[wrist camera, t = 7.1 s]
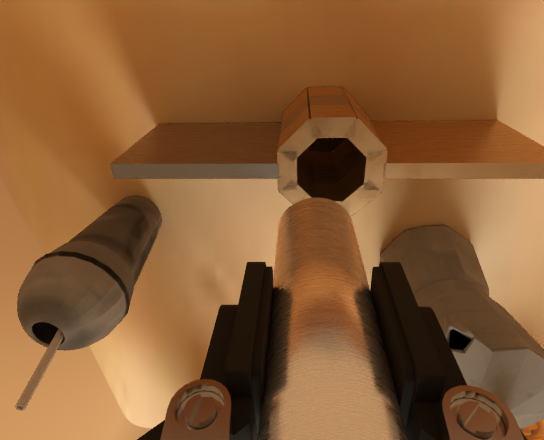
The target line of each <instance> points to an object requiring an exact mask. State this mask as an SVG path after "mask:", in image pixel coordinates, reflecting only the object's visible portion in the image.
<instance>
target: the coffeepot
mask: <svg viewBox="0 0 544 440" xmlns="http://www.w3.org/2000/svg"><path fill="white" fill-rule="evenodd" d="M380 258H381V262H400V263H401V265H402V267H403V270H404V272H405V275H406V277H407V280H408V282H409V285H410V287H411V289H412V292H413V294H414V297H415V299H416V302H417V304H418V306H420V307H431V308H432V309H433V311H434V312H435V315H436V317H437V319H438V321H439V324H440V326H441V328H442V330H443V332H444V335H445V337H446V339H447V341H448V344H449V346H450V348H451V350H452V352H453V355H454V357H455V359H456V361H457V363H458V366H459V368H460V370H461V372H462V375H463V377H464V379H465V381H466V383H467V385H469V386H474V387H478V388H481V389H483V390H486V391H488V392H490V393H492V394H493V395H495V396H496V397H498V398H499V399H500V400H501V401H502V402H503V403H504V404H505V405H506V406H507V407H508V408H509V409H510V411H511V412H512V414H513V416H514V417H515V419H516V421H517V424H518V426H519V428H520V431H521V433H522V436H523V437H525V435H524V434H523V432H522V430H523V429H525V428H527V427H529V426H531V425H533V424H535V423H536V422H538V421H540V420H542V419H544V349H543V348H542V347H541V346H540V345H539V344H538V343H537V342H536V341H535V340H534V339H533V338H532V337H531V336H530V335H529V334H528V333H527V332H526V331H525V329H524V328H523V327H522V326H521V325H520V324H519V323H518V322H517V321H516V320H515V319H514V318H513V317H512V316H511V315H510V314H509V313H508V312H507V311H506V310H505V309H504V308H503V307H502V306H501V305H499V304H498V303H497V302H495V301H494V300H492V299H491V298H490V297H489V288H488V285H487V282H486V280H485V277H484V274H483V272H482V269H481V266H480V263H479V261H478V258H477V255H476V253H475V250H474V247H473V245H472V244H471V243H470V242H469V241H467V240H466V239H464V238H463V237H462V236H461V235H460V234H458V233H457V232H455V231H453V230H452V229H450V228H449V227H448V226H446V225H435V226H422V227H417V228H414V229H410V230H405V231H404V232H403V233H402V234H400V235H399V236H398V237H397V238H395V239H394V240H393V241H392V242H391V243H390V244H389V245H388V246H387V248H386V250H385V251H384V252H383V253H382V254H381V255H380ZM525 438H526V437H525ZM526 439H527V438H526Z"/></svg>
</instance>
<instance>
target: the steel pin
mask: <svg viewBox="0 0 544 440" xmlns="http://www.w3.org/2000/svg"><path fill="white" fill-rule="evenodd" d="M273 287H274V289H273V299H272V310H271V321H270V332H269V342H268V353H267V364H266V375H265V385H264V396H263V402H262V405H261V411H260V421H259V432H258V440H408V438H407V434H406V430H405V426H404V422H403V418H402V414H401V410H400V407H399V403H398V399H397V395H396V391H395V387H394V383H393V379H392V375H391V371H390V367H389V363H388V360H387V356H386V352H385V348H384V344H383V340H382V336H381V332H380V328H379V324H378V320H377V316H376V312H375V309H374V305H373V301H372V297H371V293H370V289H369V285H368V281H367V277H366V273H365V269H364V265H363V261H362V257H361V254H360V250H359V246H358V242H357V238H356V234H355V230H354V226H353V222H352V219H351V217H350V215H349V213H348V212H347V211H346V210H345V208H343V207H342V206H341V205H340V204H338V203H337V202H334V201H332V200H329V199H326V198H318V197H317V198H307V199H304V200H301V201H298V202H296V203H295V204H293V205H292V206H290V207H289V208H288V209H287V210H286V211H285V212H284V214H283V215H282V217H281V219H280V222H279V227H278V237H277V247H276V257H275V268H274V278H273Z"/></svg>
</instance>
